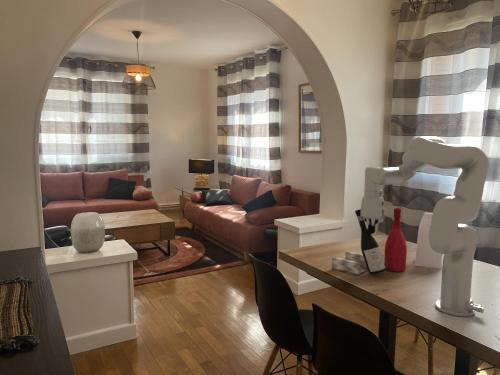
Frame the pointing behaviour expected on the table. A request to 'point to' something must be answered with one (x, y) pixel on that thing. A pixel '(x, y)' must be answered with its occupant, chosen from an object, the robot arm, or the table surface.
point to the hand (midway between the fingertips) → (371, 233)
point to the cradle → (350, 264)
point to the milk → (426, 246)
